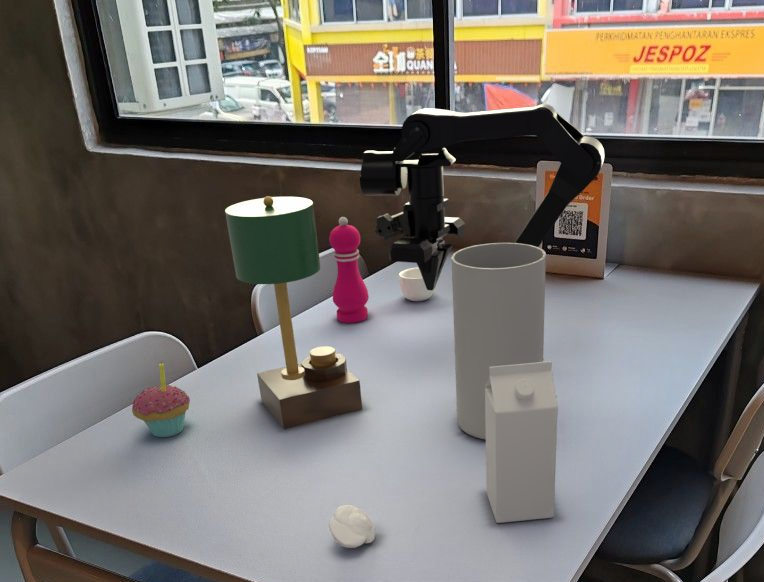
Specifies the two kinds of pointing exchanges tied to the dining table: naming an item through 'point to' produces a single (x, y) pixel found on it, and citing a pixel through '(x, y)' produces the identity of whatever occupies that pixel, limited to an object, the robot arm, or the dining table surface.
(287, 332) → the desk lamp
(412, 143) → the robot arm
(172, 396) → the cupcake
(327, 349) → the button
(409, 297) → the teacup
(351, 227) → the pepper mill
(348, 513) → the dumpling
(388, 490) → the dining table surface
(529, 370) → the milk carton
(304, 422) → the lamp base
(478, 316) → the cylinder vase
